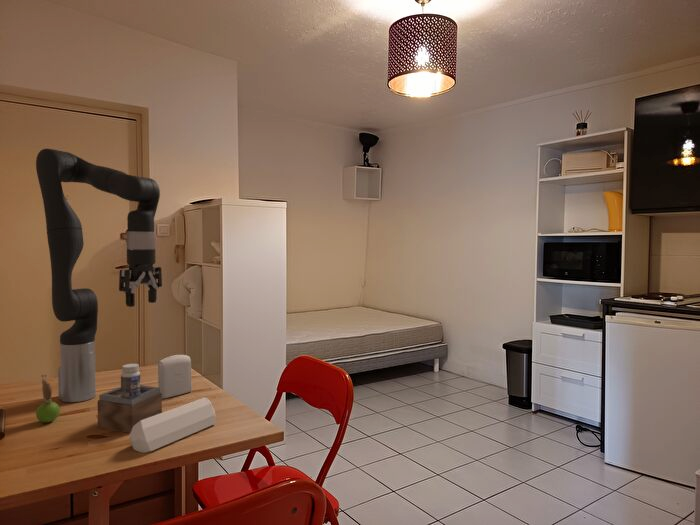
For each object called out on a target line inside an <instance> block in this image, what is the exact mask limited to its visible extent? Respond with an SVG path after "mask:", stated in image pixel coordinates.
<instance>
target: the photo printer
mask: <svg viewBox="0 0 700 525" xmlns="http://www.w3.org/2000/svg"><path fill="white" fill-rule="evenodd" d="M157 376H158V378H157V384H158V385H157V387H159V388H160V393H162V400H163V399H167V398H171V397H176V396H180V395H184V394H186V393H190V392H192V360H191V357H190V356H189V355H186V354H175V355H174V354H173V355H171V356H170V355H169V356H168V357H165V358H163V359H161V360H159V361H158V364H157Z"/></svg>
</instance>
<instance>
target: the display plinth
mask: <svg viewBox="0 0 700 525" xmlns="http://www.w3.org/2000/svg"><path fill="white" fill-rule="evenodd" d="M98 395H99V397H98V398H99V399H98V400H97V428H99V429H100V428H101V429H105V430H106V429H107V430H112V431H116V432H117V431H118V432H124V433H127V434H128V433H129V434H130V433H131V431H132V428H133V426H134V425H135V424H137V423H138V422H139V421H141V420H143V419H146V418H149V417H152V416H154V415H157V414H160V413H163V404H162V403H163V402H162V401H163V399H162V393H160V388H159V387H158V386H150V385H144V384H143V385H142V384H140V394H139V395H137V396H134V397H132V398H130V397H124V396H121V386H119V387H117V388H114V389H111V390H108V391H106V392H103V393H100V394H98Z"/></svg>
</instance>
